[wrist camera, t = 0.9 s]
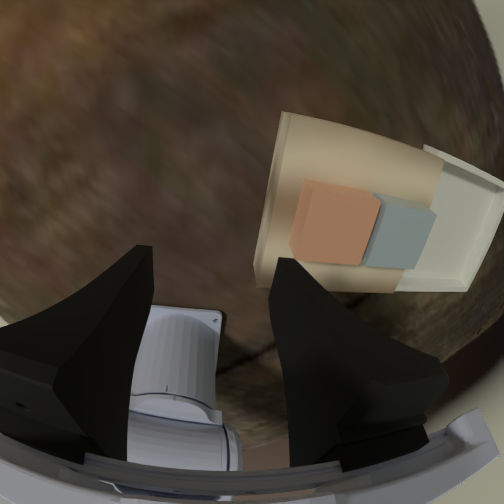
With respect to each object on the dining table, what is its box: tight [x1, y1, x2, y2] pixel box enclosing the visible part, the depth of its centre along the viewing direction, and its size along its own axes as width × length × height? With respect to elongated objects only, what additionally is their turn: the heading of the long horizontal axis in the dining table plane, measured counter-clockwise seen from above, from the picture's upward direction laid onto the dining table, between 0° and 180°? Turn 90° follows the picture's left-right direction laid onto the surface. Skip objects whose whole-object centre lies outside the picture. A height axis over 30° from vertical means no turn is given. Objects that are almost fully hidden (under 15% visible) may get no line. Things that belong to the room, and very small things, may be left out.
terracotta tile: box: [289, 179, 381, 265], centre depth 17 cm, size 4×4×2 cm
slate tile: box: [361, 192, 437, 270], centre depth 18 cm, size 4×4×2 cm
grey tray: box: [395, 144, 504, 292], centre depth 22 cm, size 13×12×2 cm
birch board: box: [253, 111, 445, 293], centre depth 20 cm, size 12×12×3 cm
